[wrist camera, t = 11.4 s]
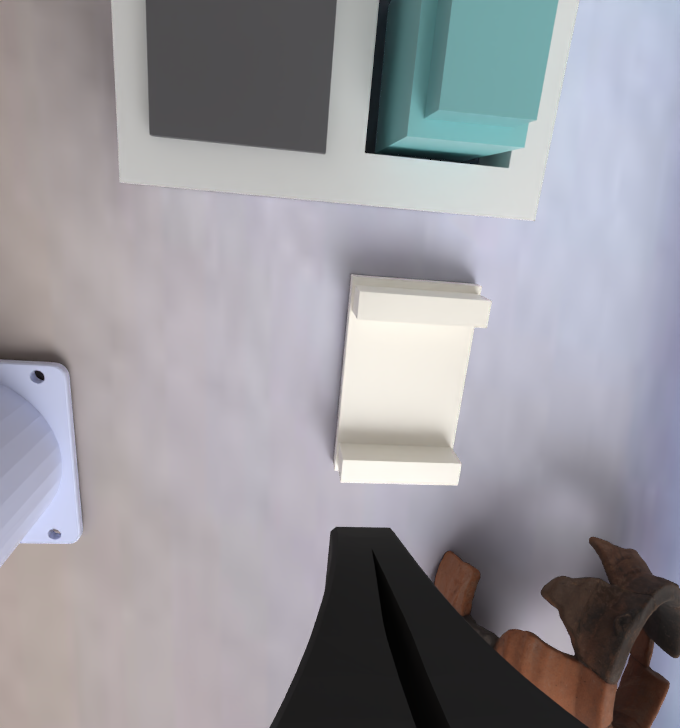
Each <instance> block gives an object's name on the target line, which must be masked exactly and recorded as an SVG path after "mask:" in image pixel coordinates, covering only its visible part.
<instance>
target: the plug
mask: <svg viewBox="0 0 680 728" xmlns="http://www.w3.org/2000/svg"><path fill="white" fill-rule="evenodd" d="M558 1H559V0H391V2H390V4H389V6H388V13H387V24H386V35H385V46H384V57H383V68H382V79H381V90H380V101H379V112H378V123H377V134H376V145H375V154H384V155H394V156H405V157H416V158H427V159H437V160H448V161H459V162H462V161H466V160H471V159H475V158H480V157H484V156H489V155H493V154H498V153H502V152H507V151H512V150H516V149H521V148H525V142H526V136H527V131H528V125H529V122H532V121H536V120H537V116H538V110H539V105H540V100H541V94H542V89H543V83H544V78H545V72H546V67H547V61H548V56H549V50H550V45H551V39H552V34H553V28H554V23H555V17H556V12H557V6H558Z"/></svg>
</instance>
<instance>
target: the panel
mask: <svg viewBox="0 0 680 728" xmlns="http://www.w3.org/2000/svg"><path fill="white" fill-rule="evenodd" d="M578 5H579V0H559V1H558V6H557V12H556V17H555V23H554V28H553V34H552V39H551V45H550V50H549V56H548V61H547V67H546V72H545V78H544V83H543V89H542V94H541V100H540V105H539V110H538V116H537V120H536V121H532V122H529V125H528V131H527V136H526V142H525V148H521V149H516V150H512V151H507V152H502V153H498V154H493V155H489V156H484V157H480V158H479V164H478V165H473V164H464V163H454V162H445V161H435V160H426V159H416V158H407V157H397V156H388V155H378V154H369V153H365V144H366V134H367V123H368V113H369V102H370V92H371V81H372V71H373V60H374V50H375V39H376V29H377V18H378V8H379V0H111V12H112V33H113V54H114V75H115V95H116V116H117V137H118V158H119V179H120V183H129V184H139V185H149V186H160V187H171V188H182V189H192V190H203V191H214V192H225V193H236V194H246V195H257V196H268V197H279V198H290V199H300V200H311V201H322V202H333V203H343V204H354V205H365V206H376V207H387V208H397V209H408V210H419V211H430V212H441V213H451V214H462V215H473V216H484V217H495V218H506V219H517V220H529V221H535V218H536V213H537V208H538V203H539V198H540V193H541V188H542V183H543V178H544V173H545V168H546V163H547V158H548V153H549V149H550V144H551V139H552V134H553V129H554V124H555V119H556V114H557V109H558V104H559V99H560V94H561V89H562V84H563V79H564V74H565V70H566V65H567V60H568V55H569V50H570V45H571V40H572V35H573V30H574V25H575V20H576V15H577V10H578Z"/></svg>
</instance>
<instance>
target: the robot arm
mask: <svg viewBox="0 0 680 728" xmlns="http://www.w3.org/2000/svg"><path fill="white" fill-rule="evenodd" d="M35 370H37V371H41V372H42V373H43V374H44V377H45V379H44V380H41V379H39V378H37V377H36V375H35ZM53 529H56V530H58V531H60V534H59V533H55V532H54V531H53ZM82 532H83V524H82V513H81V501H80V490H79V479H78V467H77V456H76V444H75V433H74V422H73V410H72V399H71V387H70V376H69V372H68V370H67V369H66V367H65V366H63V365H62V364H60V363H56V362H41V361H21V360H2V359H0V567H1V566H2V565H3V563H4V562H5V561H6V559H7V558H8V557H9V556H10V554H11V553H12V552H13V551H14V549H15V548H16V547H17V546H18V544H19V543H51V544H70V543H74V542H76V541H77V540H78V539H79V538H80V536H81V535H82ZM270 728H589V727H588V726H586V725H585V724H583V723H582V722H581V721H579V720H578V719H577V718H575V717H574V716H573V715H571V714H570V713H569V712H567V711H566V710H565V709H564V708H562V707H561V706H560V705H559V704H557V703H556V702H555V701H554V700H552V699H551V698H550V697H549V696H547V695H546V694H545V693H544V692H542V691H541V690H540V689H539V688H537V687H536V686H535V685H534V684H533V683H531V682H530V681H529V680H528V679H527V678H525V677H524V676H523V675H522V674H521V673H520V672H518V671H517V670H516V669H515V668H514V667H513V666H512V665H511V664H510V663H509V662H507V661H506V660H505V659H504V658H503V657H502V656H501V655H500V654H499V653H498V652H497V651H496V650H494V649H493V648H492V647H491V646H490V645H489V644H488V643H487V642H486V641H485V640H484V639H483V638H482V637H481V636H480V635H479V634H478V633H477V632H476V631H475V630H474V629H473V628H472V627H471V626H470V625H469V623H468V622H467V621H466V620H465V619H464V618H463V617H462V616H461V615H460V614H459V613H458V612H457V610H456V609H455V608H454V607H453V606H452V605H451V604H450V603H449V601H448V600H447V599H446V598H445V597H444V596H443V594H442V593H441V592H440V591H439V590H438V588H437V587H436V586H435V585H434V584H433V582H432V581H431V580H430V579H429V578H428V576H427V575H426V574H425V573H424V571H423V570H422V569H421V568H420V566H419V565H418V564H417V562H416V561H415V560H414V558H413V557H412V556H411V555H410V553H409V552H408V551H407V549H406V548H405V547H404V545H403V544H402V543H401V541H400V540H399V538H398V537H397V536H396V534H395V533H394V532H393V531H392V530H391V528H371V527H336V528H334V529H333V530H332V531H331V533H330V544H329V554H328V564H327V575H326V585H325V592H324V596H323V600H322V603H321V606H320V609H319V612H318V616H317V619H316V622H315V625H314V628H313V631H312V634H311V637H310V639H309V642H308V645H307V647H306V650H305V652H304V655H303V657H302V660H301V662H300V665H299V667H298V669H297V672H296V674H295V676H294V678H293V681H292V683H291V685H290V687H289V689H288V692H287V694H286V696H285V698H284V700H283V702H282V704H281V706H280V708H279V710H278V712H277V714H276V716H275V718H274V720H273V722H272V724H271V726H270Z"/></svg>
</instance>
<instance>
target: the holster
mask: <svg viewBox="0 0 680 728" xmlns="http://www.w3.org/2000/svg"><path fill="white" fill-rule="evenodd" d="M481 288H482V286H480V285H478V284H471V283H458V282H445V281H432V280H418V279H405V278H392V277H379V276H366V275H352V274H351V282H350V292H349V303H348V313H347V324H346V335H345V345H344V356H343V367H342V377H341V388H340V398H339V409H338V420H337V430H336V441H335V451H334V462H333V464H334V471H339V476H340V482H342V483H381V484H419V485H458V481H459V476H460V470H461V465H462V463H461V462H460V460H459V459H458V457H457V456H456V454H455V453H454V451H453V446H454V440H455V434H456V429H457V423H458V417H459V412H460V406H461V400H462V395H463V389H464V384H465V378H466V372H467V367H468V361H469V355H470V350H471V344H472V338H473V333H474V327H478V328H487V325H488V319H489V314H490V308H491V303H492V301H491V300H489V299H487V298H485V297H483V296H481V295H480V293H481Z"/></svg>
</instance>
